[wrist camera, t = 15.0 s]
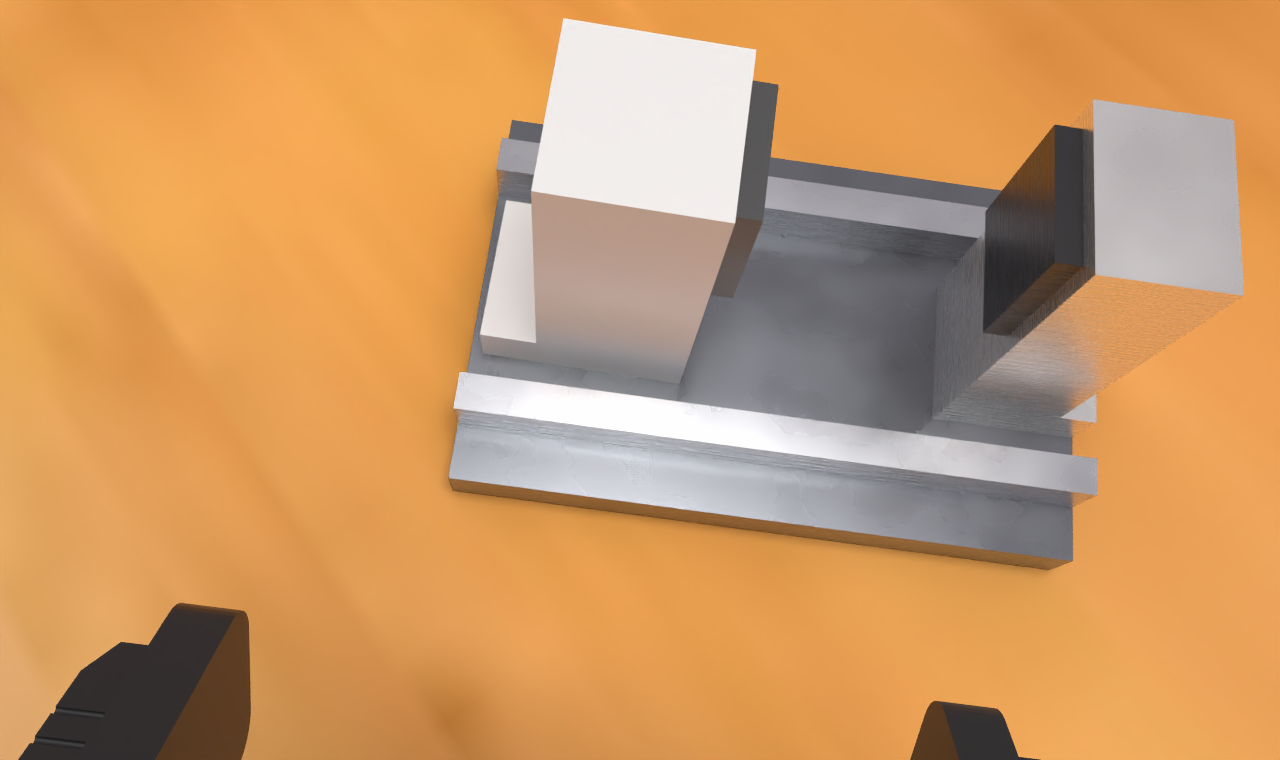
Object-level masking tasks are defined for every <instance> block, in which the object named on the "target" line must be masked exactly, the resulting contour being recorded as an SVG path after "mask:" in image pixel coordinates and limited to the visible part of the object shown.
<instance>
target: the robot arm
mask: <svg viewBox="0 0 1280 760" xmlns="http://www.w3.org/2000/svg"><path fill="white" fill-rule="evenodd" d="M250 714H251V700H250V653H249V622H248V617H247V614H246V613H245V612H244V611H241V610H233V609H225V608H217V607H209V606H201V605H193V604H186V603H179V604H177V605H175V606H174V607H173V608H172V610H171V611H170V613H169V614H168V616H167V617H166V619H165V620H164V622H163V623H162V625H161V627H160V628H159V630H158V631H157V633H156V634H155V636H154V637H153V639H152V641H151V642H150V644H149V645H141V644H133V643H125V642H120V643H119V644H118V645H116V646H115V647H113V648H112V649H111V650H109V651H108V652H106V653H105V654H104V655H102V656H101V657H99V658H98V659H97V660H95V661H94V662H92V663H91V664H89V665H88V666H87V667H85V668H84V669H82V670H81V671H80V673H79V674H78V675H77V677H76V678H75V680H74V681H73V683H72V684H71V685H70V687H69V688H68V690H67V691H66V693H65V694H64V695H63V697H62V698H61V700H60V701H59V703H58V704H57V705H56V710H55V712H54V714H52V713H51V714H50V715H49V717H48V718H47V720H46V721H45V722H44V724H43V725H42V727H41V728H40V730H39V731H38V732H37V734H36V735H35V741H34V743H30V744H29V745H28V747H27V748H26V750H25V751H24V752H23V754H22V755H21V757H20V758H19V760H241V758H242V755H243V752H244V749H245V745H246V741H247V736H248V731H249V724H250ZM910 760H1039V759H1031V758H1023V757H1018V754H1017V751H1016V749H1015V746H1014V743H1013V740H1012V738H1011V735H1010V732H1009V730H1008V727H1007V724H1006V721H1005V719H1004V717H1003V715H1002V713H1001V712H1000V711H999V710H998V709H995V708H988V707H980V706H972V705H964V704H956V703H948V702H940V701H934V702H932V703H931V704H930V705H929V707H928V709H927V711H926V714H925V716H924V719H923V722H922V725H921V729H920V732H919V735H918V738H917V741H916V744H915V747H914V750H913V753H912V756H911V759H910Z"/></svg>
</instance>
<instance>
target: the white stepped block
mask: <svg viewBox="0 0 1280 760" xmlns="http://www.w3.org/2000/svg"><path fill="white" fill-rule="evenodd" d="M755 56H756V50H754V49H748V48H742V47H736V46H730V45H724V44H718V43H711V42H705V41H699V40H693V39H687V38H681V37H675V36H669V35H662V34H656V33H650V32H644V31H638V30H632V29H626V28H620V27H613V26H607V25H601V24H595V23H589V22H583V21H577V20H571V19H563V24H562V30H561V35H560V40H559V46H558V51H557V56H556V61H555V67H554V72H553V77H552V83H551V88H550V93H549V99H548V104H547V109H546V114H545V120H544V125H543V130H542V136H541V141H540V146H539V151H538V157H537V162H536V167H535V173H534V178H533V183H532V188H531V204H527V203H521V202H515V201H508V200H506V204H505V209H504V214H503V219H502V224H501V229H500V235H499V240H498V245H497V250H496V255H495V260H494V265H493V270H492V275H491V280H490V285H489V291H488V296H487V301H486V306H485V311H484V316H483V321H482V326H481V331H480V338H481V344H482V350H483V354H489V355H496V356H502V357H509V358H515V359H522V360H528V361H534V362H541V363H547V364H554V365H560V366H567V367H573V368H580V369H586V370H593V371H599V372H606V373H612V374H618V375H625V376H631V377H638V378H644V379H651V380H657V381H664V382H670V383H677V384H680V381H681V378H682V375H683V372H684V369H685V366H686V364H687V361H688V358H689V355H690V352H691V349H692V346H693V343H694V340H695V338H696V335H697V332H698V329H699V326H700V323H701V320H702V317H703V315H704V312H705V309H706V306H707V303H708V300H709V297H710V295H715V296H721V297H728V298H733V296H734V293H735V291H736V288H737V286H738V283H739V281H740V278H741V276H742V273H743V271H744V268H745V266H746V263H747V261H748V258H749V256H750V253H751V251H752V248H753V246H754V243H755V240H756V238H757V235H758V233H759V230H760V228H761V225H762V223H763V218H764V209H765V200H766V191H767V182H768V173H769V165H770V156H771V147H772V138H773V129H774V120H775V112H776V103H777V94H778V85H777V84H771V83H765V82H758V81H753V73H754V65H755Z"/></svg>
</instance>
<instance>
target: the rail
mask: <svg viewBox="0 0 1280 760" xmlns="http://www.w3.org/2000/svg"><path fill="white" fill-rule="evenodd" d="M542 130H543V124H536V123H529V122H522V121H515V120H512V123H511V129H510V135H509V139H506V138H502V142H501V147H500V153H499V158H498V164H497V180H498V191H499V196H498V202H497V208H496V213H495V219H494V225H493V230H492V236H491V241H490V247H489V253H488V258H487V264H486V269H485V275H484V281H483V286H482V292H481V297H480V303H479V309H478V314H477V320H476V326H475V331H474V337H473V342H472V348H471V354H470V359H469V365H468V370H467V373H466V372H460V374H459V380H458V385H457V391H456V397H455V402H454V412H455V416H456V419H457V423H458V427H457V432H456V438H455V443H454V449H453V455H452V460H451V466H450V471H449V477H448V478H449V481H450V484H451V486H452V489H453V490H454V491H461V492H469V493H476V494H484V495H491V496H499V497H506V498H514V499H521V500H529V501H536V502H544V503H551V504H559V505H566V506H574V507H581V508H589V509H597V510H604V511H612V512H619V513H627V514H634V515H642V516H649V517H657V518H664V519H672V520H679V521H687V522H694V523H702V524H709V525H717V526H724V527H732V528H739V529H747V530H754V531H762V532H770V533H777V534H785V535H792V536H800V537H807V538H815V539H822V540H830V541H837V542H845V543H852V544H860V545H867V546H875V547H882V548H890V549H897V550H905V551H912V552H920V553H927V554H935V555H943V556H950V557H958V558H965V559H973V560H980V561H988V562H995V563H1003V564H1010V565H1018V566H1025V567H1033V568H1040V569H1048V570H1050V569H1053V568H1056V567H1058V566H1061V565H1064V564H1066V563H1069V562H1072V561H1073V515H1072V507H1074V506H1076V505H1078V504H1080V503H1082V502H1084V501H1086V500H1088V499H1091V498H1093V497H1095V496H1097V459H1096V458H1088V457H1081V456H1074V455H1072V437H1074V436H1076V435H1077V434H1079V433H1081V432H1082V431H1084V430H1086V429H1087V428H1089V427H1090V426H1092V425H1094V424H1095V423H1096V394H1097V393H1098V392H1100V391H1101V390H1103V389H1104V388H1106V387H1107V386H1109V385H1110V384H1112V383H1113V382H1115V381H1116V380H1118V379H1119V378H1121V377H1122V376H1124V375H1125V374H1127V373H1128V372H1130V371H1131V370H1133V369H1134V368H1136V367H1137V366H1139V365H1140V364H1142V363H1144V362H1145V361H1147V360H1148V359H1150V358H1151V357H1153V356H1154V355H1156V354H1157V353H1159V352H1160V351H1162V350H1163V349H1165V348H1166V347H1168V346H1169V345H1171V344H1172V343H1174V342H1175V341H1177V340H1178V339H1180V338H1181V337H1183V336H1184V335H1186V334H1187V333H1189V332H1190V331H1192V330H1193V329H1195V328H1196V327H1198V326H1199V325H1201V324H1202V323H1204V322H1205V321H1207V320H1208V319H1210V318H1211V317H1213V316H1214V315H1216V314H1217V313H1219V312H1220V311H1222V310H1223V309H1225V308H1226V307H1228V306H1229V305H1231V304H1232V303H1234V302H1235V301H1237V300H1238V299H1240V298H1242V297H1243V296H1244V286H1243V269H1242V252H1241V235H1240V218H1239V201H1238V184H1237V167H1236V151H1235V134H1234V120H1229V119H1223V118H1216V117H1209V116H1202V115H1195V114H1189V113H1182V112H1175V111H1168V110H1161V109H1155V108H1148V107H1141V106H1134V105H1128V104H1121V103H1114V102H1107V101H1100V100H1094V99H1093V100H1092V101H1091V103H1090V104H1089V105H1088V106H1087V107H1086V109H1085V110H1084V111H1083V112H1082V114H1081V115H1080V116H1079V117H1078V118H1077V120H1076V121H1075V122H1074V123H1073V124H1072V126H1071V127H1067V126H1060V125H1054V126H1053V128H1052V129H1051V130H1050V131H1049V133H1048V134H1047V135H1046V136H1045V138H1044V139H1043V140H1042V141H1041V143H1040V144H1039V145H1038V146H1037V148H1036V149H1035V150H1034V151H1033V153H1032V154H1031V155H1030V156H1029V158H1028V159H1027V160H1026V161H1025V163H1024V164H1023V165H1022V166H1021V168H1020V169H1019V170H1018V171H1017V173H1016V174H1015V175H1014V176H1013V178H1012V179H1011V180H1010V181H1009V183H1008V184H1007V185H1006V186H1005V188H1004V189H1003V190H1002V191H1000V190H993V189H986V188H979V187H972V186H965V185H959V184H952V183H945V182H938V181H931V180H924V179H917V178H910V177H903V176H896V175H889V174H882V173H875V172H868V171H861V170H855V169H848V168H841V167H834V166H827V165H820V164H813V163H806V162H799V161H792V160H785V159H778V158H771V157H770V165H769V173H768V182H767V191H766V200H765V209H764V218H763V223H762V225H761V228H760V230H759V233H758V235H757V238H756V240H755V243H754V246H753V248H752V251H751V253H750V256H749V258H748V261H747V263H746V266H745V268H744V271H743V273H742V276H741V278H740V281H739V283H738V286H737V288H736V291H735V293H734V296H733V298H728V297H721V296H715V295H710V297H709V300H708V303H707V306H706V309H705V312H704V315H703V317H702V320H701V323H700V326H699V329H698V332H697V335H696V338H695V340H694V343H693V346H692V349H691V352H690V355H689V358H688V361H687V364H686V366H685V369H684V372H683V375H682V378H681V381H680V384H677V383H670V382H664V381H657V380H651V379H644V378H638V377H631V376H625V375H618V374H612V373H606V372H599V371H593V370H586V369H580V368H573V367H567V366H560V365H554V364H547V363H541V362H534V361H528V360H522V359H515V358H509V357H502V356H496V355H489V354H483V350H482V344H481V338H480V331H481V326H482V321H483V316H484V311H485V306H486V301H487V296H488V291H489V285H490V280H491V275H492V270H493V265H494V260H495V255H496V250H497V245H498V240H499V235H500V229H501V224H502V219H503V214H504V209H505V204H506V200H508V201H515V202H521V203H527V204H531V188H532V183H533V178H534V173H535V167H536V162H537V157H538V151H539V146H540V141H541V136H542Z"/></svg>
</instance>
